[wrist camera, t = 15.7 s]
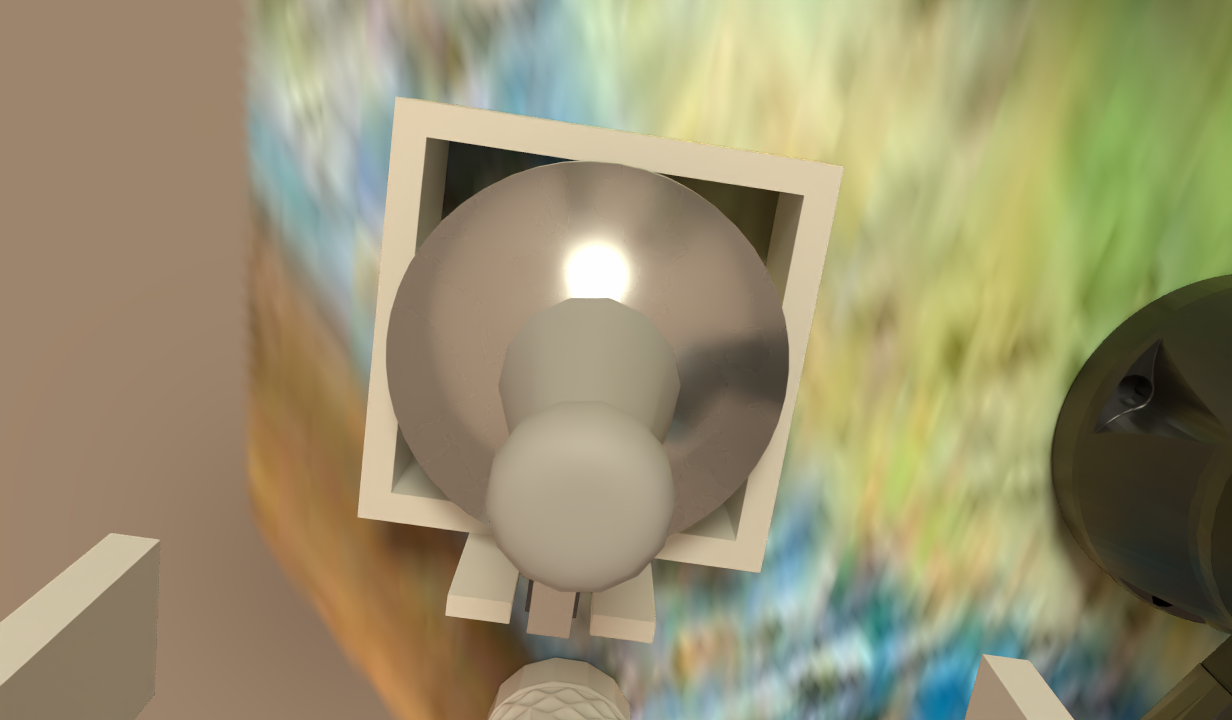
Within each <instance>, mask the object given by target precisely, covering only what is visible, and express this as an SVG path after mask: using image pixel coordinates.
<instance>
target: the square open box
mask: <svg viewBox="0 0 1232 720" xmlns="http://www.w3.org/2000/svg"><path fill="white" fill-rule="evenodd" d="M450 141H455V142H462V143H468V144H475V145H481V146H488V147H494V148H501V149H507V150H514V151H520V152H527V153H533V154H540V155H546V156H553V157H559V158H566V159H572V160H579V161H589V160H592V161H603V162H615V163H621V164H626V165H630V166H635V167H639V168H644V169H647V170H649V171H652V172H656V173H663V174H669V175H676V176H682V177H689V178H695V179H702V180H708V181H715V182H721V183H728V184H734V185H741V186H747V187H754V188H760V189H767V190H773V191H780V192H779V198H778V203H777V208H776V213H775V219H774V224H773V229H772V234H771V240H770V245H769V250H768V255H767V260H766V266H765V267H766V268H767V270H768V272H769V274H770V277H771V279H772V281H773V283H774V286H775V288H776V290H777V293H778V295H779V299H780V302H781V306H782V309H783V313H784V316H785V320H786V327H787V335H788V342H789V375H788V383H787V390H786V397H785V401H784V404H783V408H782V412H781V415H780V419H779V422H778V424H777V427H776V429H775V431H774V434H773V436H772V438H771V441H770V443H769V445H768V447H767V449H766V450H765V452H764V454H763V455H762V457H761V459H760V460H759V462H758V464H757V466H756V467H755V468H754V469H753V471H752V472H751V473H750V475H749V476H748V477H747V478H746V480H745V481H744V482H743V484H742V485H741V486H740V487H739V488H738V489H737V490H736V491H735V492H734V493H733V494H732V495H731V496H730V497H729V498H728V499H727V500H726V501H725V502H724V503H723V504H721V505H720V506H719V507H717V508H716V509H715V510H714V511H712V512H711V513H710V514H708V515H707V516H706V517H704V518H703V519H701V520H700V521H698V522H696V523H694V524H693V525H691V526H689V527H688V528H686V529H684V530H682V531H680V532H678V533H676V534H673V535H671V536H669V537H667V539H666V542H665V546H664V547H663V549H662V550H661V551H660V552H659V553H658V554H657V555H656V556H655V557H654V558H657V559H664V560H671V561H678V562H685V563H693V564H700V565H707V566H714V567H721V568H729V569H736V570H743V571H750V572H758V573H760V572H761V567H762V562H763V557H764V552H765V547H766V542H767V538H768V533H769V528H770V523H771V518H772V513H773V509H774V504H775V499H776V494H777V489H778V484H779V480H780V475H781V470H782V465H783V460H784V455H785V450H786V446H787V441H788V436H789V431H790V426H791V421H792V417H793V412H794V407H795V402H796V397H797V392H798V388H799V383H800V378H801V373H802V368H803V363H804V358H805V354H806V349H807V344H808V339H809V334H810V329H811V325H812V320H813V315H814V310H815V305H816V300H817V296H818V291H819V286H820V281H821V276H822V271H823V266H824V262H825V257H826V252H827V247H828V242H829V237H830V233H831V228H832V223H833V218H834V213H835V208H836V204H837V199H838V194H839V189H840V184H841V179H842V175H843V170H844V167H843V166H839V165H834V164H829V163H824V162H820V161H815V160H808V159H802V158H796V157H789V156H783V155H776V154H770V153H764V152H757V151H751V150H744V149H738V148H731V147H725V146H719V145H712V144H706V143H699V142H693V141H686V140H680V139H674V138H667V137H661V136H654V135H648V134H642V133H635V132H629V131H622V130H616V129H609V128H603V127H597V126H590V125H584V124H577V123H571V122H564V121H558V120H552V119H545V118H539V117H532V116H526V115H519V114H513V113H507V112H500V111H494V110H487V109H481V108H475V107H468V106H462V105H455V104H449V103H442V102H436V101H430V100H423V99H412V98H402V97H396V99H395V110H394V121H393V132H392V143H391V154H390V165H389V176H388V187H387V198H386V209H385V220H384V231H383V242H382V253H381V265H380V276H379V287H378V298H377V309H376V320H375V331H374V342H373V353H372V364H371V375H370V386H369V397H368V408H367V419H366V430H365V441H364V452H363V463H362V474H361V485H360V496H359V507H358V517H361V518H368V519H375V520H383V521H390V522H397V523H404V524H411V525H419V526H426V527H433V528H440V529H447V530H455V531H462V532H469V536H468V539H467V541H466V544H465V547H464V550H463V553H462V556H461V558H460V561H459V564H458V567H457V570H456V573H455V576H454V578H453V581H452V584H451V587H450V590H449V593H448V598H447V606H446V616H454V617H461V618H468V619H476V620H483V621H491V622H498V623H505V624H509V622H510V617H511V612H512V607H513V603H514V598H515V593H516V588H517V584H518V580H519V575H520V572H519V571H518V570H517V569H516V567H515V566H514V565H513V564H512V563H511V562H510V561H509V560H508V558H507V557H506V556H505V555H504V554H503V553H502V552H501V550H500V549H499V548H498V547H497V545H496V541H495V538H494V534H493V531H492V529H491V528H489V527H488V526H486V525H485V524H483V523H481V522H480V521H478V520H477V519H475V518H473V517H472V516H470V515H469V514H467V513H466V512H465V511H464V510H462V509H461V508H460V507H459V506H457V505H456V504H455V503H454V502H453V501H451V500H450V499H449V498H448V497H447V496H446V495H445V494H444V493H443V492H442V491H441V490H440V489H439V488H438V487H437V486H436V485H435V484H434V482H433V481H432V480H431V479H430V478H429V476H428V475H427V474H426V472H425V471H424V470H423V468H422V467H421V466H420V464H419V463H418V461H417V460H416V458H415V457H414V455H413V453H412V451H411V449H410V448H409V446H408V444H407V442H406V440H405V439H404V437H403V434H402V431H401V429H400V426H399V424H398V421H397V419H396V416H395V414H394V409H393V405H392V401H391V397H390V393H389V389H388V380H387V371H386V337H387V331H388V325H389V319H390V313H391V310H392V306H393V303H394V300H395V297H396V293H397V290H398V287H399V285H400V283H401V281H402V279H403V276H404V274H405V272H406V270H407V268H408V266H409V264H410V262H411V261H412V259H413V257H414V256H415V254H416V253H417V251H418V250H419V248H420V247H421V245H422V244H423V242H424V241H425V240H426V238H427V237H428V236H429V235H430V234H431V233H432V232H433V230H434V229H435V228H436V227H437V226H438V225H439V223H440V222H441V218H442V208H443V199H444V189H445V180H446V170H447V161H448V151H449V142H450ZM655 626H656V616H655V604H654V591H653V579H652V567H651V562H650V563H649V564H648V565H647V566H646V567H645V569H644V570H643V571H642V572H641V573H640V574H639V575H638V576H637V577H634V578H632V579H630V580H628V581H625V582H623V583H621V584H619V585H617V586H614V587H612V588H610V589H608V590H605V591H603V592H591V615H590V635H594V636H601V637H609V638H616V639H624V640H631V641H638V642H646V643H653V637H654V632H655Z"/></svg>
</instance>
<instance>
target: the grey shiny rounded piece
mask: <svg viewBox="0 0 1232 720" xmlns="http://www.w3.org/2000/svg"><path fill="white" fill-rule="evenodd" d="M569 298H611V299H613V300H616V301H618V302H620V303H622V304H624V305H626V306H628V307H630V308H632V309H634V310H636V311H639V312H641V313H643V314H645V315H646V316H647V317H648V318H649V319H650V321H651V322H652V323H653V324H654V326H655V327H656V328H657V329H658V331H659V332H660V333H661V334H662V335H663V337H664V338H665V339H666V340H667V342H668V343H669V344H670V345H671V347H672V348H673V353H674V358H675V362H676V367H677V372H678V376H679V381H680V390H679V394H678V398H677V402H676V406H675V410H674V414H673V418H672V422H671V425H670V428H669V431H668V433H667V436H666V439H665V441H664V444H663V447H664V448H665V449H666V452H667V455H668V459H669V464H670V468H671V473H672V478H673V482H674V487H675V492H676V497H677V499H676V503H675V507H674V511H673V515H672V519H671V523H670V527H669V531H668V535H667V537H669V536H671V535H673V534H676V533H678V532H680V531H682V530H684V529H686V528H688V527H689V526H691V525H693V524H694V523H696V522H698V521H700V520H701V519H703V518H704V517H706V516H707V515H708V514H710V513H711V512H712V511H714V510H715V509H716V508H717V507H719V506H720V505H721V504H723V503H724V502H725V501H726V500H727V499H728V498H729V497H730V496H731V495H732V494H733V493H734V492H735V491H736V490H737V489H738V488H739V487H740V486H741V485H742V484H743V482H744V481H745V480H746V478H747V477H748V476H749V475H750V473H751V472H752V471H753V469H754V468H755V467H756V466H757V464H758V462H759V460H760V459H761V457H762V455H763V454H764V452H765V450H766V449H767V447H768V445H769V443H770V441H771V438H772V436H773V434H774V431H775V429H776V427H777V424H778V422H779V419H780V415H781V412H782V408H783V404H784V401H785V397H786V390H787V383H788V375H789V342H788V335H787V327H786V320H785V316H784V313H783V309H782V306H781V302H780V299H779V295H778V293H777V290H776V288H775V286H774V283H773V281H772V279H771V277H770V274H769V272H768V270H767V268H766V267H765V265H764V263H763V262H762V260H761V258H760V257H759V255H758V253H757V252H756V250H755V248H754V247H753V246H752V245H751V243H750V242H749V241H748V240H747V238H746V237H745V236H744V235H743V234H742V232H741V231H740V230H739V229H738V227H737V226H736V225H735V224H733V223H732V222H731V221H730V220H729V219H728V218H727V217H726V216H725V215H724V214H723V213H722V212H721V211H720V210H719V209H718V208H716V207H715V206H714V205H713V204H711V203H710V202H708V201H707V200H706V199H704V198H703V197H701V196H700V195H699V194H697V193H696V192H694V191H693V190H691V189H689V188H687V187H686V186H684V185H682V184H680V183H678V182H676V181H674V180H672V179H670V178H668V177H665V176H663V175H660V174H657V173H655V172H652V171H649V170H647V169H644V168H639V167H635V166H630V165H626V164H621V163H615V162H603V161H592V160H589V161H568V162H559V163H554V164H549V165H543V166H538V167H534V168H531V169H528V170H525V171H522V172H519V173H516V174H513V175H511V176H509V177H506V178H504V179H502V180H500V181H498V182H496V183H494V184H492V185H490V186H488V187H486V188H484V189H483V190H481V191H480V192H478V193H477V194H475V195H474V196H472V197H471V198H469V199H468V200H466V201H465V202H463V203H462V204H460V205H459V206H458V207H457V208H456V209H455V210H454V211H452V212H451V213H450V214H449V215H448V216H447V217H446V218H445V219H443V220H442V221H441V222H440V223H439V225H438V226H437V227H436V228H435V229H434V230H433V232H432V233H431V234H430V235H429V236H428V237H427V238H426V240H425V241H424V242H423V244H422V245H421V247H420V248H419V250H418V251H417V253H416V254H415V256H414V257H413V259H412V261H411V262H410V264H409V266H408V268H407V270H406V272H405V274H404V276H403V279H402V281H401V283H400V285H399V287H398V290H397V293H396V297H395V300H394V303H393V306H392V310H391V313H390V319H389V325H388V331H387V337H386V371H387V380H388V389H389V393H390V397H391V401H392V405H393V409H394V414H395V416H396V419H397V421H398V424H399V426H400V429H401V431H402V434H403V437H404V439H405V440H406V442H407V444H408V446H409V448H410V449H411V451H412V453H413V455H414V457H415V458H416V460H417V461H418V463H419V464H420V466H421V467H422V468H423V470H424V471H425V472H426V474H427V475H428V476H429V478H430V479H431V480H432V481H433V482H434V484H435V485H436V486H437V487H438V488H439V489H440V490H441V491H442V492H443V493H444V494H445V495H446V496H447V497H448V498H449V499H450V500H451V501H453V502H454V503H455V504H456V505H457V506H459V507H460V508H461V509H462V510H464V511H465V512H466V513H467V514H469V515H470V516H472V517H473V518H475V519H477V520H478V521H480V522H481V523H483V524H485V525H486V526H488V527H489V528H491V524H490V521H489V517H488V514H487V511H486V504H485V495H486V490H487V486H488V481H489V477H490V472H491V468H492V463H493V459H494V457H495V455H496V453H497V452H498V450H499V448H500V447H501V446H502V445H503V443H504V442H505V441H506V440H507V438H508V437H509V431H508V427H507V423H506V418H505V414H504V410H503V405H502V401H501V397H500V392H499V388H498V384H499V380H500V375H501V371H502V367H503V362H504V358H505V354H506V349H507V347H508V345H509V344H510V343H511V342H512V340H513V339H514V338H515V336H516V335H517V334H518V332H519V331H520V330H521V328H522V327H523V326H524V325H525V323H526V322H527V321H528V319H529V318H530V317H531V316H532V315H534V314H536V313H539V312H541V311H543V310H545V309H547V308H549V307H552V306H554V305H556V304H558V303H560V302H562V301H565V300H567V299H569ZM491 529H492V528H491ZM575 596H576V592H559V591H557V590H555V589H552V588H550V587H548V586H545V585H543V584H540V583H538V582H536V581H534V583H533V590H532V597H531V605H530V612H529V619H528V626H527V633H529V634H537V635H544V636H552V637H559V638H566V639H569V635H570V628H571V622H572V615H573V609H574V602H575Z"/></svg>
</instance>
